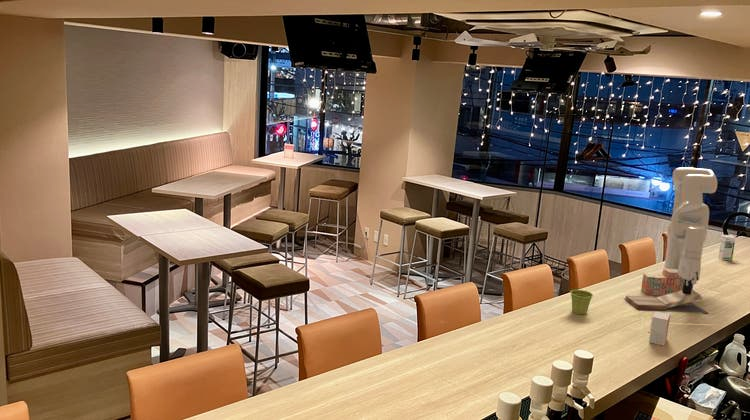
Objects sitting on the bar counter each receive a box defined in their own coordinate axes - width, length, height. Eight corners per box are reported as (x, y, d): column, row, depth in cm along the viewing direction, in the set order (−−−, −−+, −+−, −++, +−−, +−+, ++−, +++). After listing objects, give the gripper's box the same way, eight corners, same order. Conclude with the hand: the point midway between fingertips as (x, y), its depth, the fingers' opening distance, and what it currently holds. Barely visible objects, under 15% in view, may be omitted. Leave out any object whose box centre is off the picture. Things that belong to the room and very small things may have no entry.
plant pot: (594, 312, 256) (596, 293, 255) (585, 318, 249) (587, 298, 248) (574, 306, 262) (576, 288, 261) (564, 312, 256) (566, 292, 254)
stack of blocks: (645, 295, 283) (648, 270, 280) (640, 291, 289) (643, 267, 287) (691, 298, 281) (695, 273, 279) (686, 294, 287) (689, 269, 285)
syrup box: (721, 260, 354) (725, 236, 351) (717, 257, 360) (721, 234, 357) (732, 260, 353) (736, 237, 351) (728, 258, 359) (731, 235, 356)
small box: (664, 346, 223) (668, 320, 221) (648, 342, 226) (652, 316, 224) (667, 339, 230) (670, 314, 228) (651, 336, 233) (654, 310, 231)
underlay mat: (623, 299, 275) (623, 298, 275) (688, 301, 276) (688, 300, 276) (638, 311, 260) (639, 310, 260) (708, 313, 261) (708, 312, 260)
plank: (666, 308, 263) (665, 304, 263) (656, 301, 272) (655, 297, 272) (701, 299, 263) (700, 294, 263) (690, 292, 272) (689, 288, 271)
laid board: (625, 299, 273) (625, 295, 273) (653, 300, 274) (653, 296, 273) (637, 309, 262) (637, 304, 261) (666, 309, 262) (666, 305, 262)
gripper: (675, 249, 270) (669, 288, 274) (693, 258, 256) (687, 298, 259) (691, 250, 271) (685, 289, 274) (710, 258, 256) (704, 299, 259)
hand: (686, 293), depth 266 cm, fingers closed
